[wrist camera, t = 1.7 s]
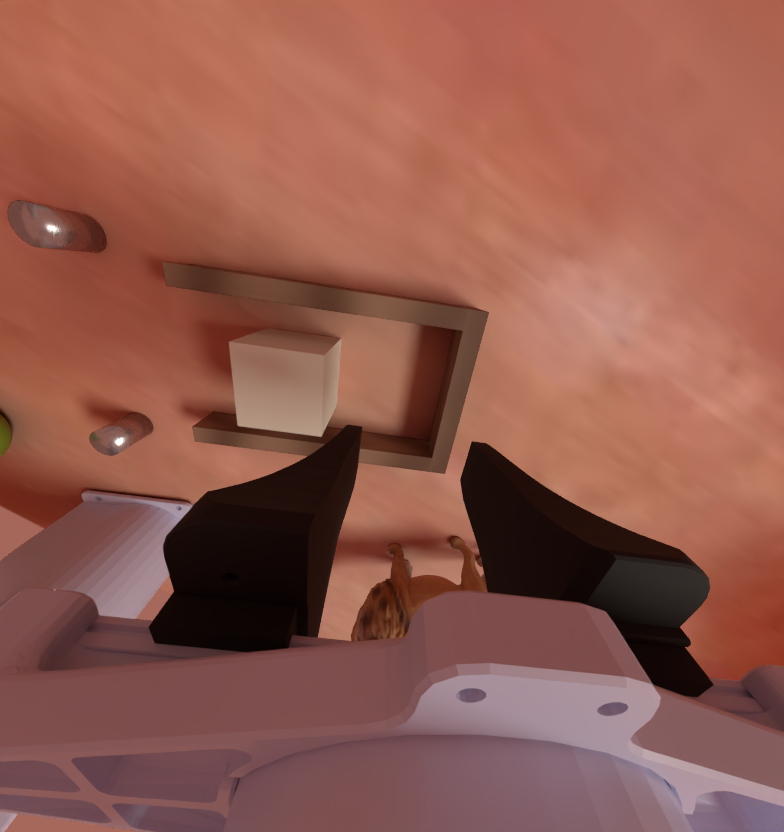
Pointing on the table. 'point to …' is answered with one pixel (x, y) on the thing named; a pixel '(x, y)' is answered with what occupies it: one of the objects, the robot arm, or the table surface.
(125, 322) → the table surface
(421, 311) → the stall
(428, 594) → the lion figurine
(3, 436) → the snail figurine
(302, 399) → the cube
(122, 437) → the posts
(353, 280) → the table surface
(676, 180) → the table surface
